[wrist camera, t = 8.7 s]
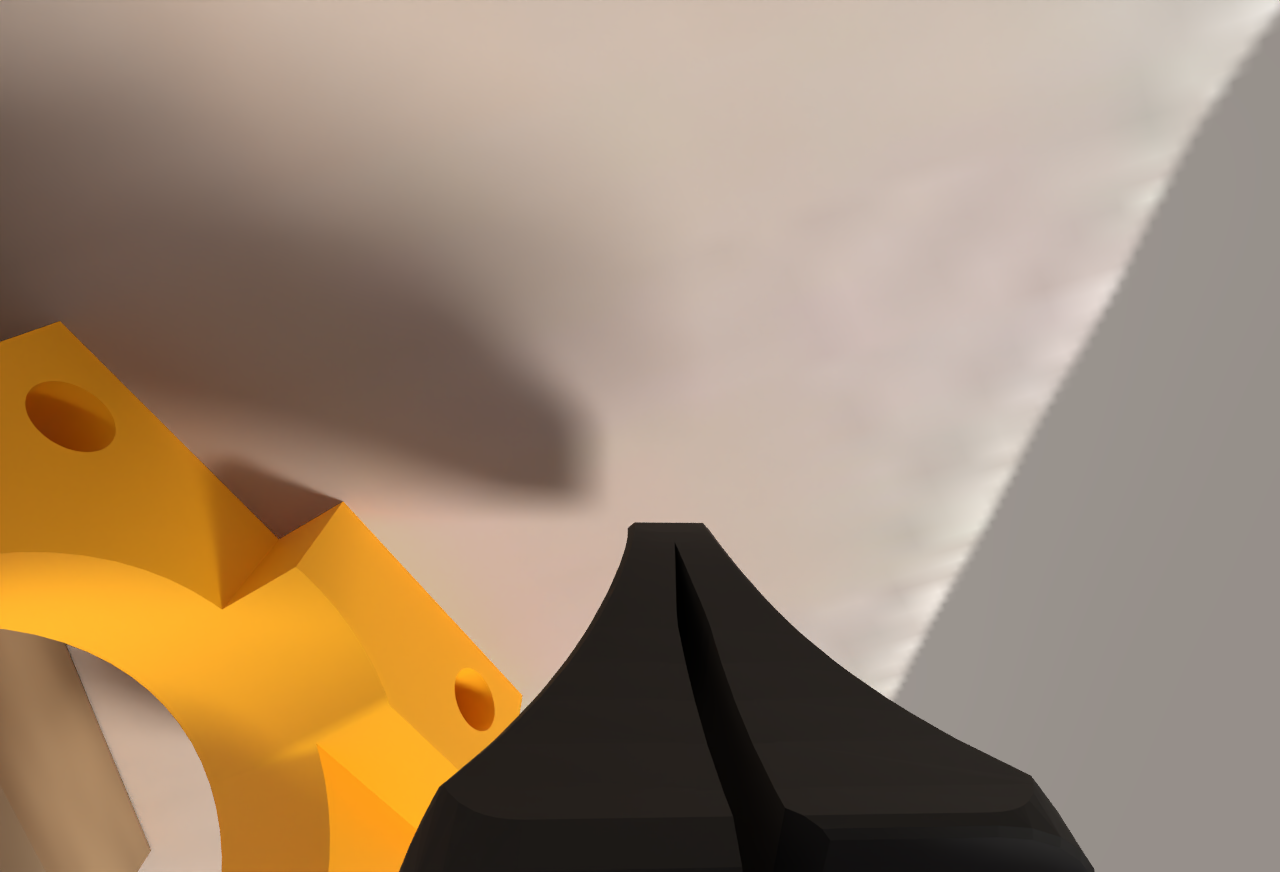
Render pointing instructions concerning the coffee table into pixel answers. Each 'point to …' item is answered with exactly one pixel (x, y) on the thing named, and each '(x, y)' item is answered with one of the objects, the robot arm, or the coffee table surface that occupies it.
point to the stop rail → (57, 770)
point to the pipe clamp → (235, 622)
